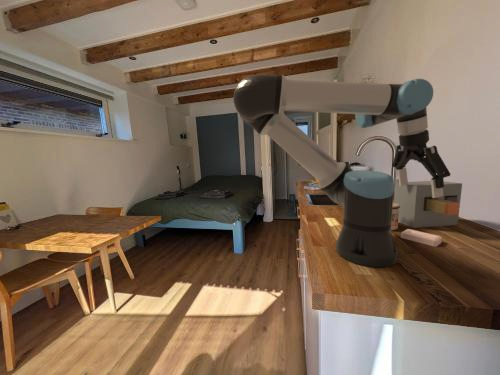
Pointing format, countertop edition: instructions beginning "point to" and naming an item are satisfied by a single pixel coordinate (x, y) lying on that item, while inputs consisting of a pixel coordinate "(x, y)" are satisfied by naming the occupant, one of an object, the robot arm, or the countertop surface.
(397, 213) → the teacup with lid
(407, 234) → the soap bar
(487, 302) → the countertop surface
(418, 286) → the countertop surface
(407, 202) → the panel
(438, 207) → the plunger
